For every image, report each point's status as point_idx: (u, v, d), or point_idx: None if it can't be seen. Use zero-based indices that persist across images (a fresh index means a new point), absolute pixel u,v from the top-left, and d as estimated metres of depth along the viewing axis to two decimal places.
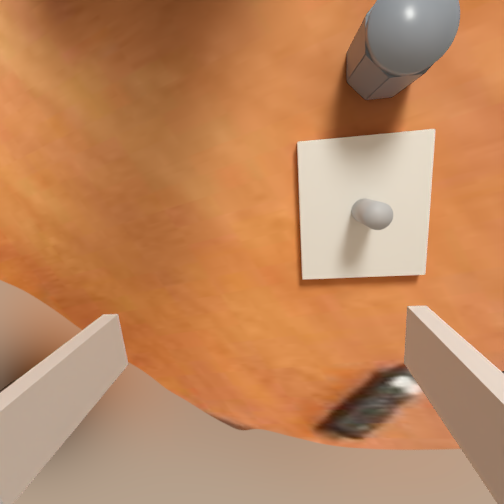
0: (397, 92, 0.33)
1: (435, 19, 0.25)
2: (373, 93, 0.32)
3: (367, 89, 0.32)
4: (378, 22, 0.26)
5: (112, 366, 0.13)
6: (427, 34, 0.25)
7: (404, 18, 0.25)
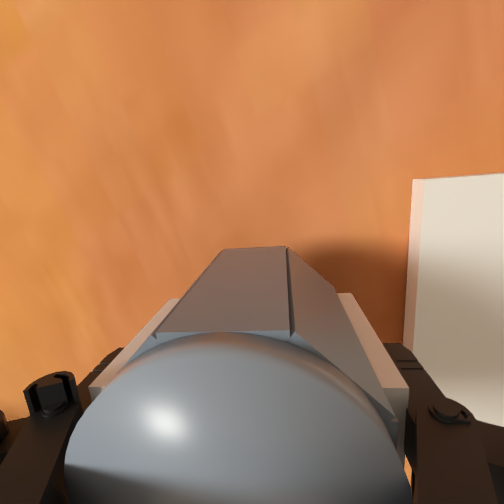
0: None
1: (215, 445, 0.06)
2: None
3: None
4: None
5: None
6: (270, 470, 0.06)
7: None
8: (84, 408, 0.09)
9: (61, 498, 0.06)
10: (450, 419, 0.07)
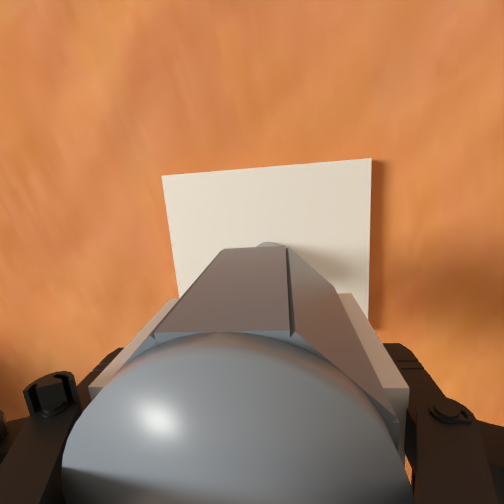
0: None
1: (214, 446, 0.06)
2: None
3: None
4: None
5: None
6: (269, 472, 0.06)
7: None
8: (84, 408, 0.09)
9: (61, 498, 0.06)
10: (450, 419, 0.07)
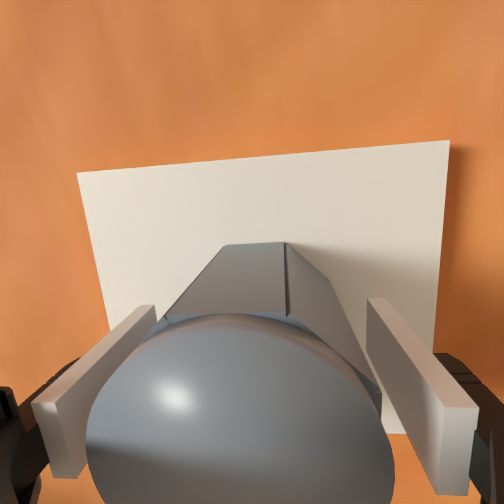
0: None
1: (220, 411, 0.07)
2: None
3: None
4: None
5: None
6: (268, 433, 0.07)
7: (215, 496, 0.07)
8: (26, 425, 0.08)
9: None
10: None
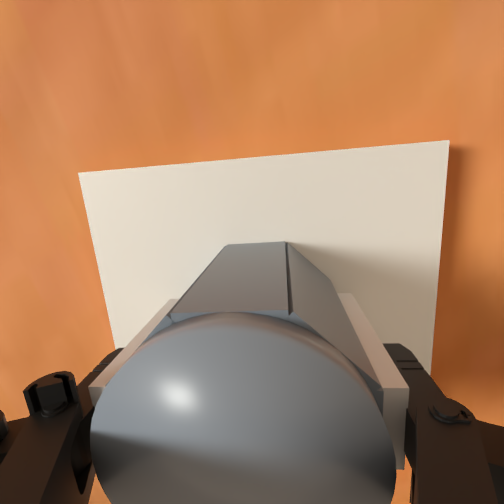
0: None
1: (224, 408, 0.07)
2: None
3: None
4: None
5: None
6: (271, 430, 0.07)
7: (219, 493, 0.07)
8: (84, 408, 0.09)
9: (61, 498, 0.06)
10: (450, 419, 0.07)
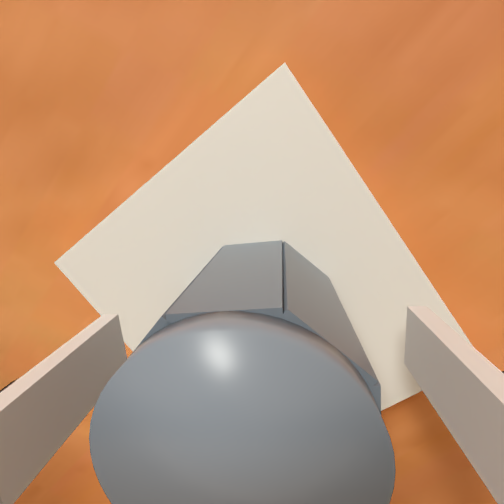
0: None
1: (220, 408, 0.07)
2: None
3: None
4: None
5: (112, 366, 0.13)
6: (268, 428, 0.07)
7: (219, 492, 0.07)
8: None
9: None
10: None
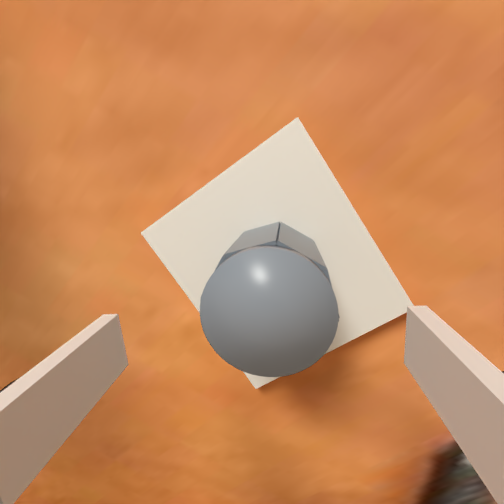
0: (282, 226, 0.21)
1: (237, 301, 0.16)
2: (315, 246, 0.21)
3: None
4: (309, 348, 0.16)
5: (112, 366, 0.13)
6: (256, 291, 0.16)
7: (274, 330, 0.16)
8: None
9: None
10: None
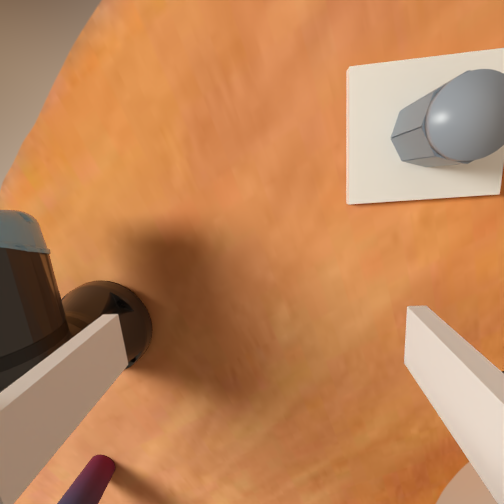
0: (408, 105, 0.32)
1: (455, 129, 0.26)
2: (436, 88, 0.31)
3: None
4: None
5: (112, 366, 0.13)
6: (456, 114, 0.26)
7: (485, 116, 0.26)
8: None
9: None
10: None
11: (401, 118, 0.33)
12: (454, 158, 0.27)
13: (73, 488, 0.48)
